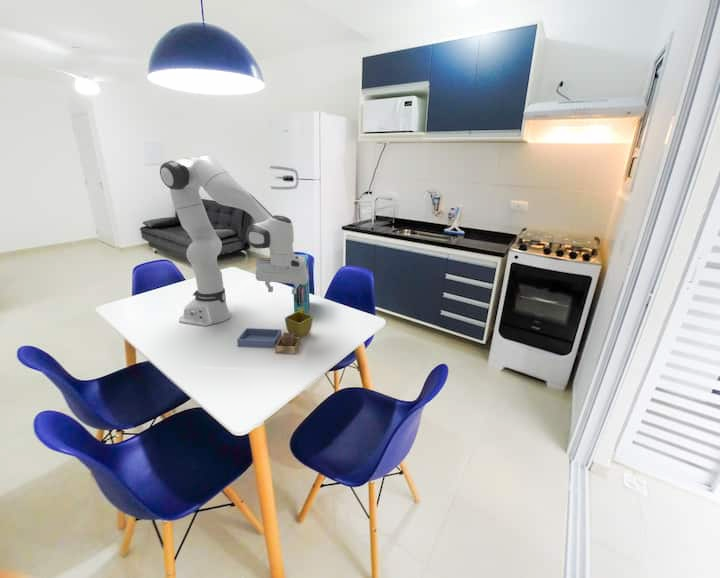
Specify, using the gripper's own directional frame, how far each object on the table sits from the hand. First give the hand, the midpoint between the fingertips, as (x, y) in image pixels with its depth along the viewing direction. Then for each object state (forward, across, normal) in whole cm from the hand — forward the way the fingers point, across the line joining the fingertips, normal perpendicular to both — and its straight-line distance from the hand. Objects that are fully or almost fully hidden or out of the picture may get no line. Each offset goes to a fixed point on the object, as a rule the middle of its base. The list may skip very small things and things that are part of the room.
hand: (282, 292), depth 132 cm
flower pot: (+22, +6, +6) cm, 23 cm away
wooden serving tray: (+22, +4, -6) cm, 23 cm away
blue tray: (+22, -9, -2) cm, 24 cm away
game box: (+22, +2, +32) cm, 39 cm away
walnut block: (+21, +4, -6) cm, 23 cm away
